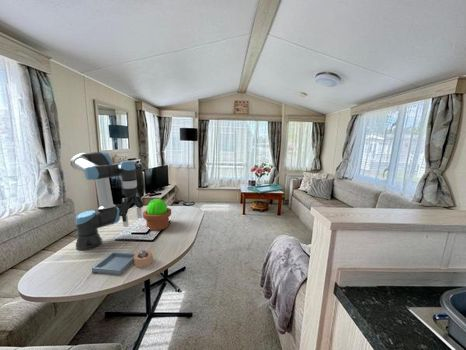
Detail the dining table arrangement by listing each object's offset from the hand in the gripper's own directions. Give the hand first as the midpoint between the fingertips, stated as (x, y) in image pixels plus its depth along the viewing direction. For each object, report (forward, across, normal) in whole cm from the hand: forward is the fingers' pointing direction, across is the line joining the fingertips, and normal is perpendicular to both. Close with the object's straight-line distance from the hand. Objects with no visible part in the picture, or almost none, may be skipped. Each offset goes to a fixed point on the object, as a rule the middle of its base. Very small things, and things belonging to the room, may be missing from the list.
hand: (133, 221), depth 125 cm
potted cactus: (+24, -48, -11) cm, 55 cm away
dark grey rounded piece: (+25, +3, +6) cm, 26 cm away
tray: (+25, +7, -9) cm, 27 cm away
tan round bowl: (+24, +3, +6) cm, 25 cm away
